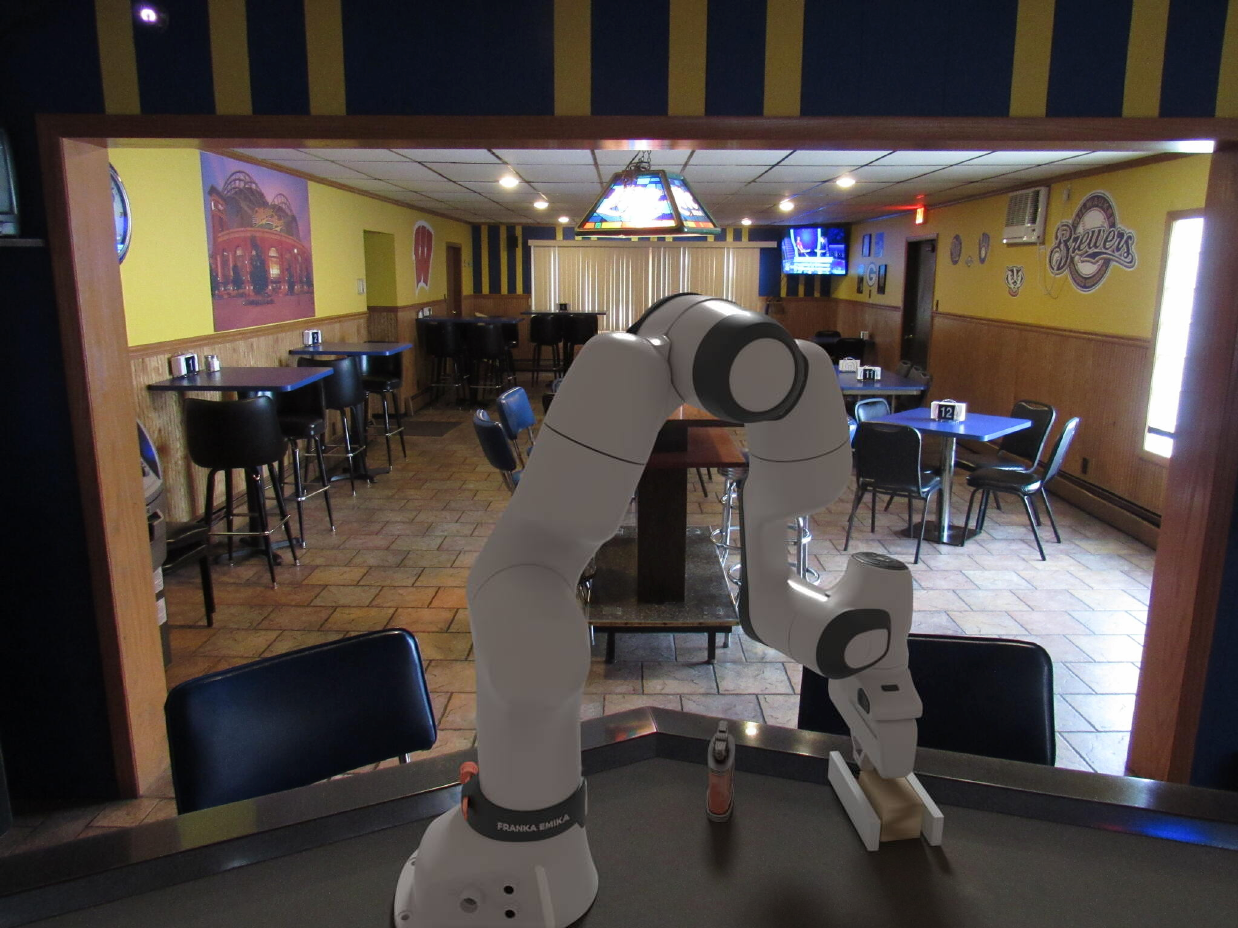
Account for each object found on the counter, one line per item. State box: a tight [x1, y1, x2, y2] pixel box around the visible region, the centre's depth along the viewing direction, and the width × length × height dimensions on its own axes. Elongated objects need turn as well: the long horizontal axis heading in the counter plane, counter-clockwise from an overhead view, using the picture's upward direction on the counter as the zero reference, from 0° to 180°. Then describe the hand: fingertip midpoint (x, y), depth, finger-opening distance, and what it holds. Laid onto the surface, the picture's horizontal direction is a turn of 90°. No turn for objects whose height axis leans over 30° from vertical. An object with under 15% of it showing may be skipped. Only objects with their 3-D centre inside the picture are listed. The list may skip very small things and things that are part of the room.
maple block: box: [859, 769, 923, 842], centre depth 105 cm, size 5×7×5 cm
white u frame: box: [827, 750, 945, 852], centre depth 107 cm, size 9×14×4 cm, turn 6°
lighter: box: [706, 720, 736, 823], centre depth 108 cm, size 8×3×10 cm, turn 168°
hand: (863, 764), depth 113 cm, fingers closed
